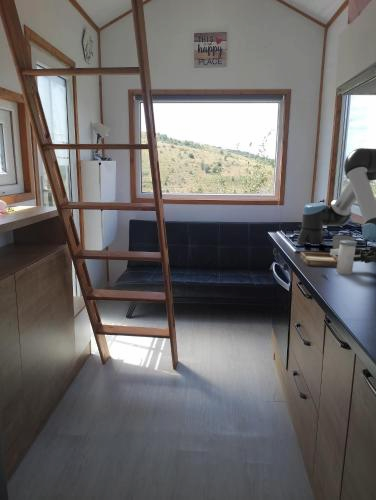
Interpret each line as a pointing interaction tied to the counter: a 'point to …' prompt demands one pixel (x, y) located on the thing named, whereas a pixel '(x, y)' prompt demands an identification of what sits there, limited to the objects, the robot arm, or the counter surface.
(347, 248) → the canister
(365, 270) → the counter surface
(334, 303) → the counter surface
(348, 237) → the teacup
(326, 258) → the tray
